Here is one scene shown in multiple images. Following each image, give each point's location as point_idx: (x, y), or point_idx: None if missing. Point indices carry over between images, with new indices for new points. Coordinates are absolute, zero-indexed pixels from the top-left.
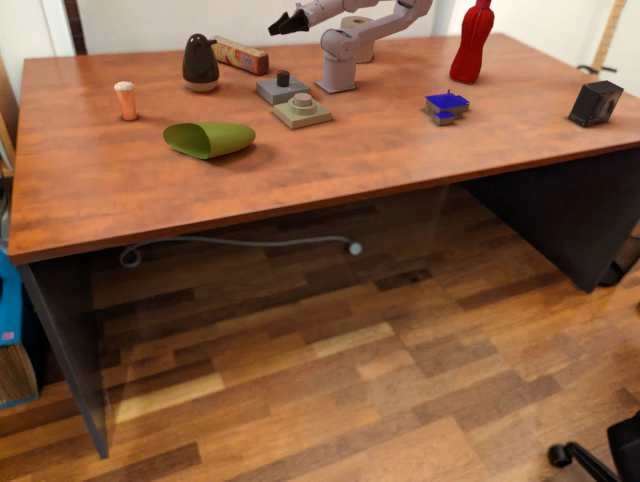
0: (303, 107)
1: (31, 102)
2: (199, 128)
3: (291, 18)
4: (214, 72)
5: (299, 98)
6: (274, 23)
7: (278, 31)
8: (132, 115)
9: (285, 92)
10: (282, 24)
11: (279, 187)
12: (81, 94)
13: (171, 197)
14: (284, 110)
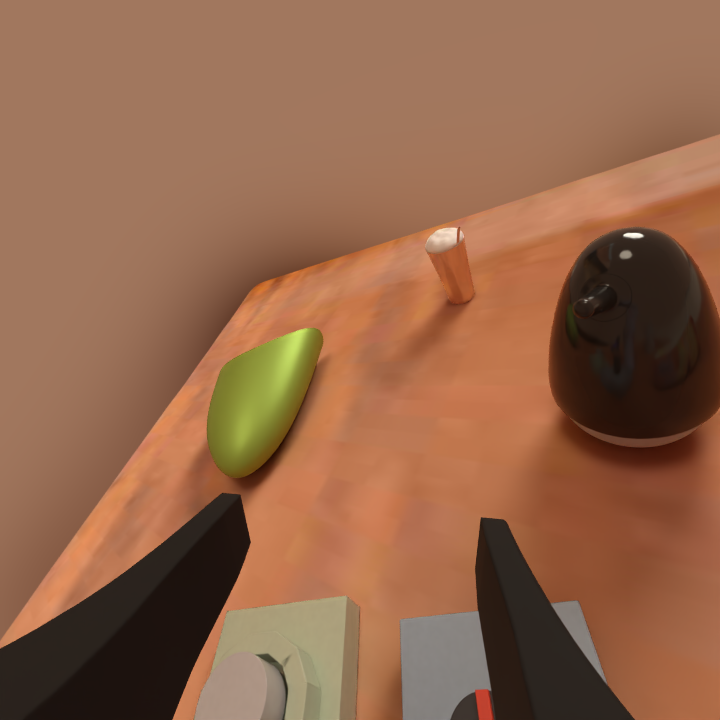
0: None
1: (560, 189)
2: (301, 375)
3: (104, 588)
4: (571, 397)
5: (227, 669)
6: (497, 577)
7: (492, 653)
8: (447, 294)
9: (405, 707)
10: (197, 514)
11: (133, 494)
12: (593, 218)
13: None
14: (294, 621)
